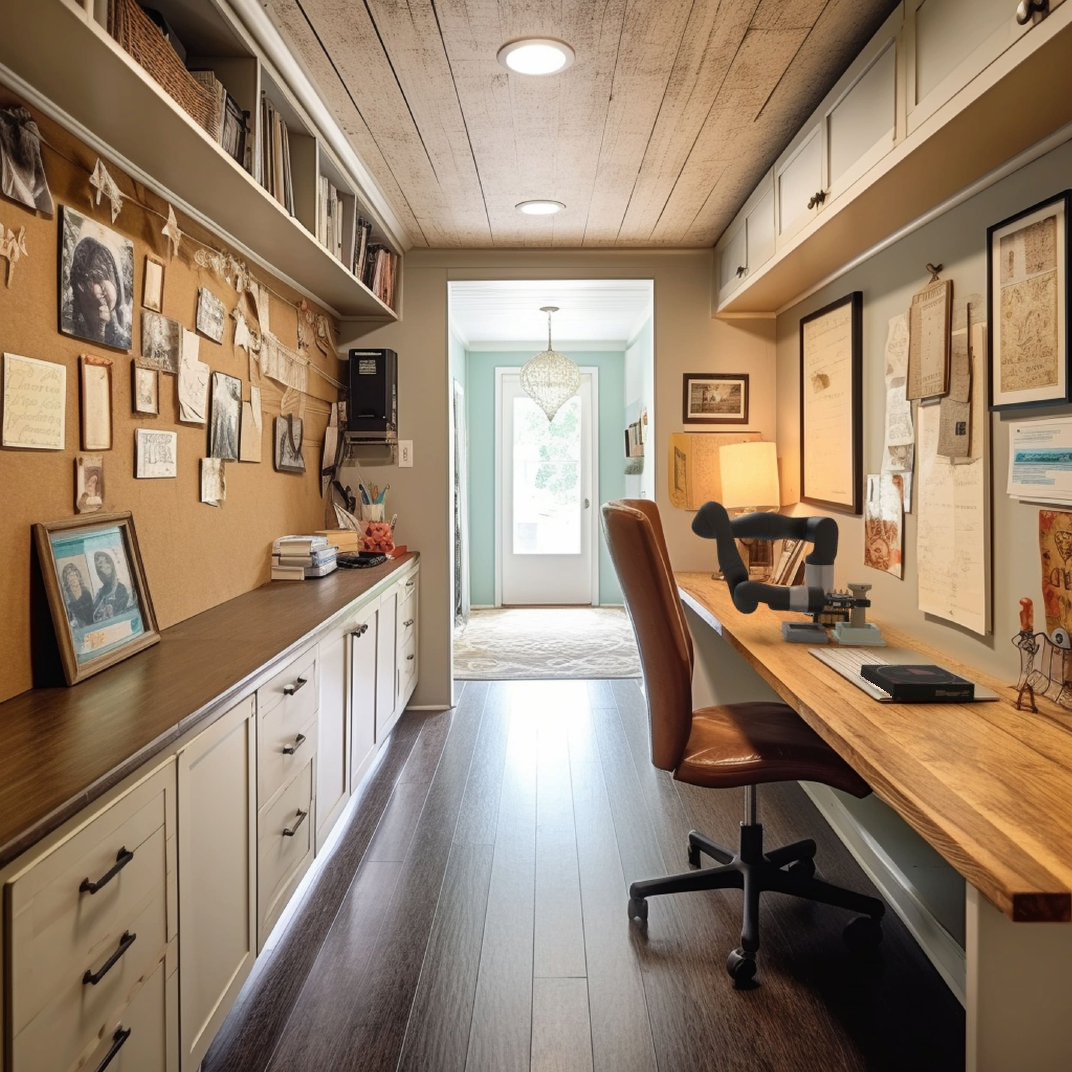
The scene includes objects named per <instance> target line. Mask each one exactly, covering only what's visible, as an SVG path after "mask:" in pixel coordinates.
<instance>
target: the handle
mask: <svg viewBox="0 0 1072 1072" xmlns="http://www.w3.org/2000/svg"><path fill="white" fill-rule="evenodd" d="M846 585H847V588H848V590H850V591H852V596H853V597H852V598H855V599H865V597H866V595H867V594H866V593H867V592H868V591H871V590H872V588H873V584H871V583H866V582H847V584H846ZM866 619H867V618H866V607H856V608H855V609H850V615H849V622H850V627H851V628H862V629H864V627H865V623H866Z"/></svg>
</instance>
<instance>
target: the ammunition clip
mask: <svg viewBox="0 0 1072 1072" xmlns="http://www.w3.org/2000/svg"><path fill="white" fill-rule="evenodd" d="M827 593H831V592H830V589H828V592H827ZM833 593H837V594H839V593H842V594H849V595H850V592H849V588H848V589H847V588H846V589H845V592H844V593H843V589H842V588H840V589H839V592H837V589H836V588H833ZM824 595H825V592H824ZM848 605H850V604H848ZM812 622H813V623H821V624H822V625H823V627H824V628H834V627H835V625H836V622H850V609H834V608H832V610H831V608H830V607H829V606H826V610H825V606H824V610H823V612H822V613H813V616H812Z"/></svg>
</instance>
